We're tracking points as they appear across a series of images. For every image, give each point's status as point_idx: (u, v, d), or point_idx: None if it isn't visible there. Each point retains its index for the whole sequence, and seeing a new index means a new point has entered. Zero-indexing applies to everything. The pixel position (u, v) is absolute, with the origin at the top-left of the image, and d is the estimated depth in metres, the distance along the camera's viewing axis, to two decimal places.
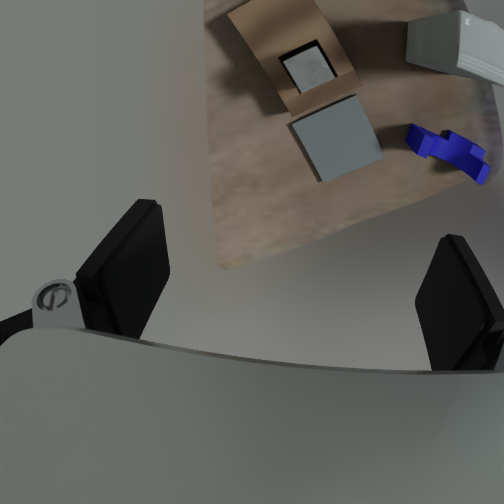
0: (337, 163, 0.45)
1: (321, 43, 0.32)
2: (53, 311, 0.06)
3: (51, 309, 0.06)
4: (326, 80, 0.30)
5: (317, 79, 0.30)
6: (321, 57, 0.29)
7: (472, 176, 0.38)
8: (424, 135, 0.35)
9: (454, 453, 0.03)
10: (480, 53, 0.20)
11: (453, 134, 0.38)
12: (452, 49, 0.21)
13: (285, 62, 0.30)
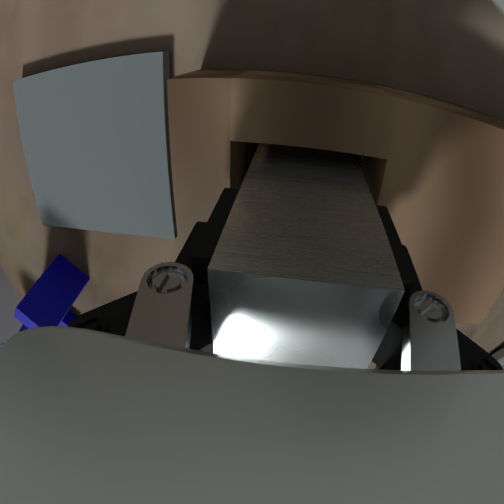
0: (40, 127, 0.14)
1: None
2: (161, 294, 0.07)
3: (160, 290, 0.07)
4: None
5: (237, 343, 0.08)
6: None
7: None
8: None
9: (454, 453, 0.03)
10: None
11: None
12: None
13: (394, 296, 0.06)
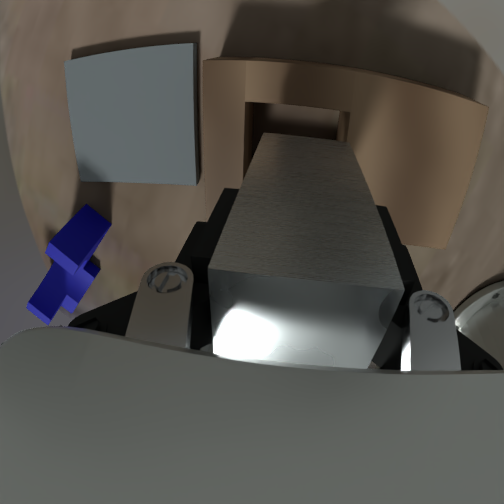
0: (88, 98, 0.19)
1: None
2: (161, 294, 0.07)
3: (160, 291, 0.07)
4: None
5: (237, 342, 0.08)
6: None
7: (35, 295, 0.27)
8: (77, 263, 0.22)
9: (454, 453, 0.03)
10: None
11: (91, 278, 0.29)
12: None
13: (394, 296, 0.06)
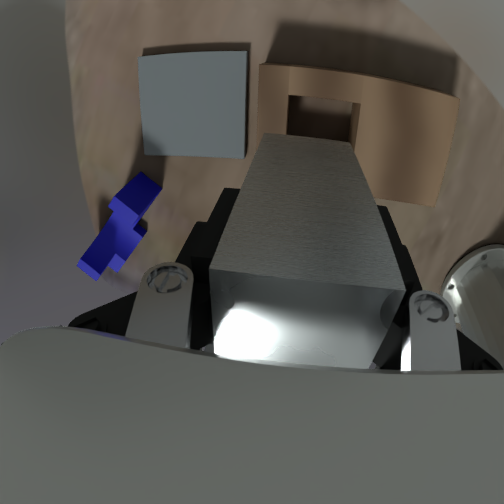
0: (158, 88, 0.26)
1: None
2: (161, 294, 0.07)
3: (160, 290, 0.07)
4: None
5: (238, 342, 0.08)
6: None
7: (86, 253, 0.34)
8: (138, 213, 0.29)
9: (454, 453, 0.03)
10: None
11: (139, 238, 0.36)
12: None
13: (395, 296, 0.06)
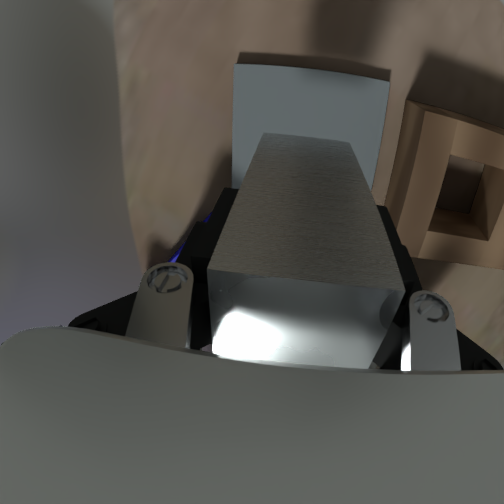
0: (262, 112, 0.20)
1: (479, 242, 0.19)
2: (161, 294, 0.07)
3: (160, 290, 0.07)
4: None
5: (236, 343, 0.08)
6: None
7: None
8: None
9: (454, 453, 0.03)
10: None
11: None
12: None
13: (395, 297, 0.06)
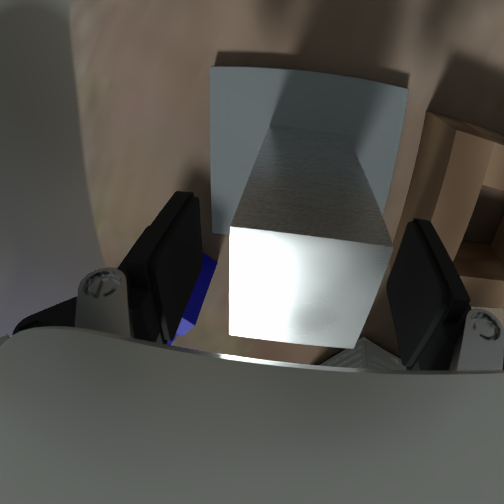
0: (247, 127, 0.16)
1: None
2: (99, 299, 0.06)
3: (97, 296, 0.07)
4: (234, 314, 0.10)
5: (251, 297, 0.09)
6: (313, 341, 0.10)
7: None
8: (192, 321, 0.18)
9: (454, 453, 0.03)
10: None
11: None
12: None
13: (385, 252, 0.08)
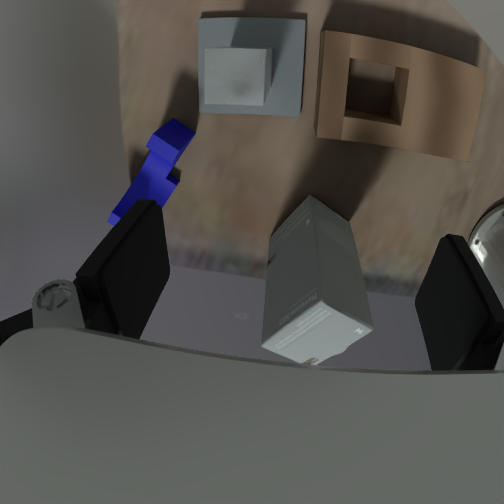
0: None
1: (393, 126, 0.26)
2: (53, 311, 0.06)
3: (51, 309, 0.06)
4: (206, 90, 0.20)
5: (213, 79, 0.19)
6: (243, 102, 0.20)
7: (118, 207, 0.34)
8: (178, 149, 0.28)
9: (454, 453, 0.03)
10: (320, 330, 0.26)
11: (173, 187, 0.35)
12: (338, 299, 0.25)
13: (263, 51, 0.18)
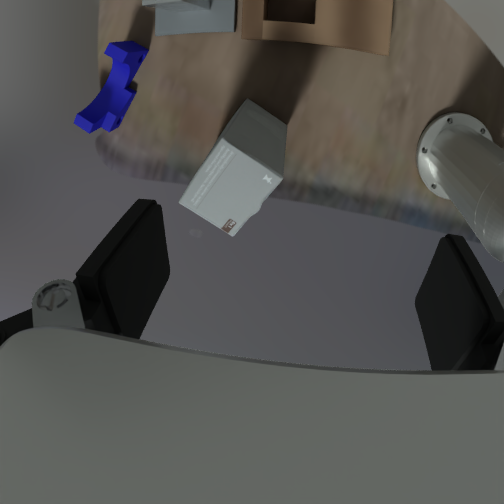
0: None
1: (307, 25, 0.28)
2: (53, 311, 0.06)
3: (51, 309, 0.06)
4: None
5: None
6: (167, 0, 0.22)
7: (83, 111, 0.36)
8: (127, 52, 0.30)
9: (454, 453, 0.03)
10: (228, 176, 0.27)
11: (129, 95, 0.37)
12: (242, 143, 0.26)
13: None
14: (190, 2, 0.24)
